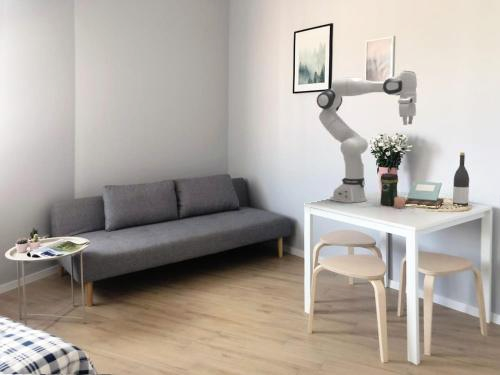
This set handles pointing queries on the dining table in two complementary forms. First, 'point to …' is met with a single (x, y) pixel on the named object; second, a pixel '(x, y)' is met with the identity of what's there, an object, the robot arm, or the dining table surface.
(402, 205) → the peach round lump
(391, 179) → the coffee jar
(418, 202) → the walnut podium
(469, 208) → the dining table surface
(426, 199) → the teal display board
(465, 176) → the wine bottle
